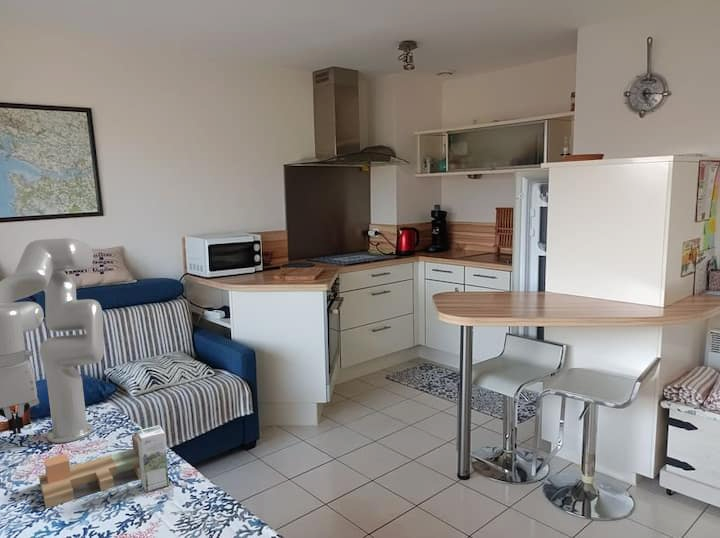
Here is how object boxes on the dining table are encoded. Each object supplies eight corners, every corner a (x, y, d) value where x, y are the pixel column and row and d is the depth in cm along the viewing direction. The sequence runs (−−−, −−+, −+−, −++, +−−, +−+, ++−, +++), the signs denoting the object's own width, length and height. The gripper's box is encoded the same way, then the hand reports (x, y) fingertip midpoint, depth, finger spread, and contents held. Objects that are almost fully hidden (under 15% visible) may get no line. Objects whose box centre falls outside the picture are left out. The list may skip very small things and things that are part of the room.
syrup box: (164, 476, 140) (159, 423, 138) (169, 486, 135) (164, 431, 133) (141, 483, 137) (135, 429, 135) (146, 493, 132) (140, 437, 130)
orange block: (46, 475, 138) (44, 459, 138) (68, 469, 141) (66, 453, 140) (48, 483, 134) (46, 466, 134) (70, 477, 137) (69, 460, 136)
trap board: (40, 484, 139) (37, 460, 138) (137, 456, 153) (135, 434, 152) (45, 508, 127) (42, 482, 127) (150, 475, 141) (148, 451, 140)
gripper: (42, 350, 136) (50, 419, 139) (-31, 362, 128) (-21, 436, 130) (45, 356, 130) (53, 428, 133) (-31, 369, 122) (-21, 446, 124)
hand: (16, 432), depth 131 cm, fingers closed
